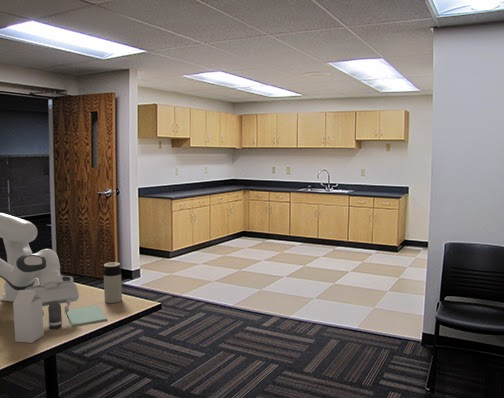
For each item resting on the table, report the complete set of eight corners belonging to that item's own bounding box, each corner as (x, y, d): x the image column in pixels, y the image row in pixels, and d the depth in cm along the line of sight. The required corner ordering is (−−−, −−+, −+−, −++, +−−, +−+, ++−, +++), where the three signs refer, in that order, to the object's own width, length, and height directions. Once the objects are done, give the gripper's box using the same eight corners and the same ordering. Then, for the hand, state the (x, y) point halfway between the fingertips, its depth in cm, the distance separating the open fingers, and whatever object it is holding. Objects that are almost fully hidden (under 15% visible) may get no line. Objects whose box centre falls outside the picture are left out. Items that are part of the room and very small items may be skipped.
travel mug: (104, 304, 216) (102, 266, 214) (105, 299, 223) (103, 262, 221) (122, 302, 218) (120, 265, 216) (122, 297, 225) (120, 261, 223)
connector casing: (48, 326, 189) (47, 301, 188) (61, 323, 191) (60, 299, 190) (49, 330, 184) (48, 305, 183) (63, 327, 187) (61, 303, 186)
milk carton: (32, 343, 172) (29, 294, 170) (15, 342, 173) (12, 293, 171) (44, 335, 179) (41, 288, 177) (27, 334, 180) (24, 287, 178)
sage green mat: (65, 311, 206) (65, 310, 205) (98, 306, 212) (98, 304, 212) (72, 326, 188) (72, 324, 188) (107, 320, 195) (107, 318, 195)
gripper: (23, 283, 187) (26, 313, 180) (76, 276, 197) (81, 305, 190) (23, 291, 192) (26, 321, 184) (75, 284, 202) (80, 312, 194)
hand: (54, 313), depth 187 cm, fingers open, 8 cm apart
